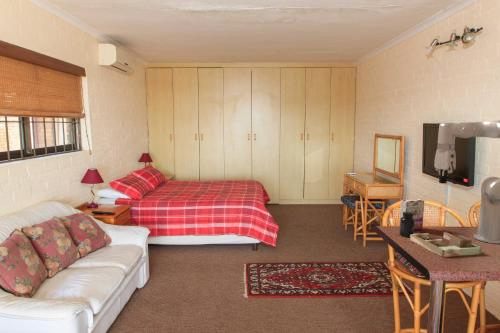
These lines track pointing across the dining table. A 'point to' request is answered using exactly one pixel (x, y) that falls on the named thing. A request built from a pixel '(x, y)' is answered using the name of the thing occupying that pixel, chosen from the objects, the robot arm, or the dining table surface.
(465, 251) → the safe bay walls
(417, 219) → the candy bar box
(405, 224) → the supplement bottle
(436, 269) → the dining table surface
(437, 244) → the lane box
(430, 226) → the dining table surface
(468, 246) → the tan wooden block
